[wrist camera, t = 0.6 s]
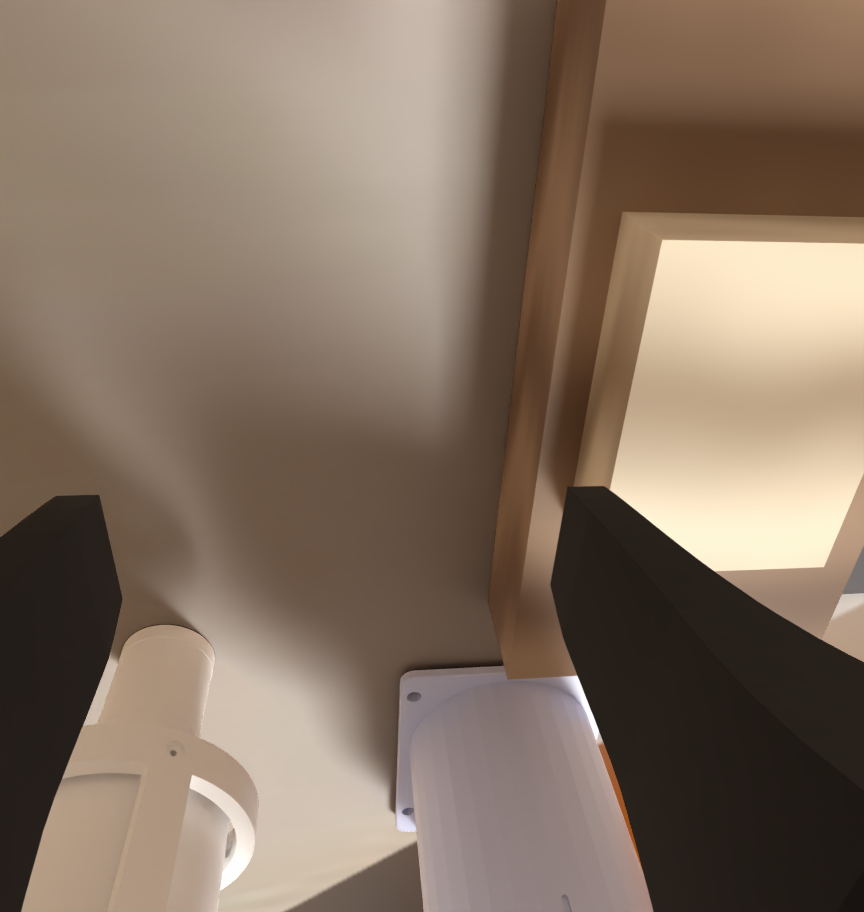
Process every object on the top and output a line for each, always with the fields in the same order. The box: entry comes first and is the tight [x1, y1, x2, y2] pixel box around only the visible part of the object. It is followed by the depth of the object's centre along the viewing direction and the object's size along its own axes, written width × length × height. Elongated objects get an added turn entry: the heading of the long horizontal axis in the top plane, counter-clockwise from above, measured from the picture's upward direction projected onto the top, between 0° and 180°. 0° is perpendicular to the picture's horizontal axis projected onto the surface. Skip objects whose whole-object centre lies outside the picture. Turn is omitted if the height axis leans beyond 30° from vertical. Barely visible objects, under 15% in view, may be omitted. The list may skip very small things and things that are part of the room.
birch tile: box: [573, 212, 864, 571], centre depth 17 cm, size 8×6×2 cm
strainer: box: [21, 625, 259, 912], centre depth 19 cm, size 7×7×15 cm
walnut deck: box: [488, 0, 864, 680], centre depth 20 cm, size 18×10×4 cm, turn 177°
